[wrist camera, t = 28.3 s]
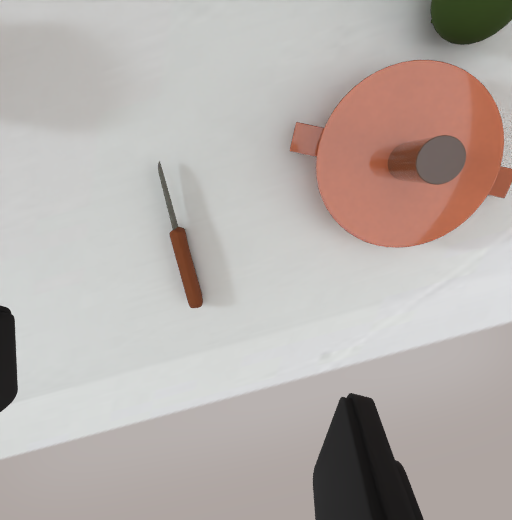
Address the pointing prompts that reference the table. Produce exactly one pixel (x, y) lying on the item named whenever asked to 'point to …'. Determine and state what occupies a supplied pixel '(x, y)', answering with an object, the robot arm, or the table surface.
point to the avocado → (469, 19)
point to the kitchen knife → (182, 252)
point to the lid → (409, 153)
